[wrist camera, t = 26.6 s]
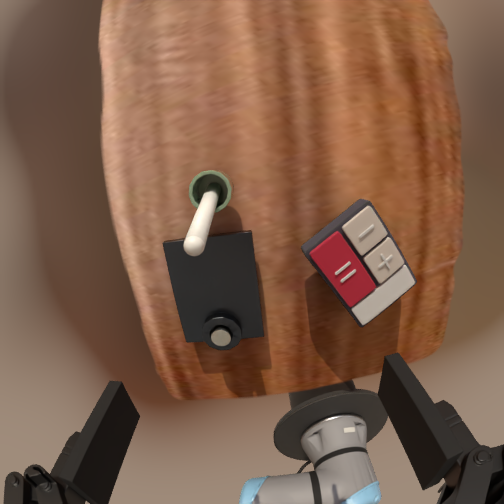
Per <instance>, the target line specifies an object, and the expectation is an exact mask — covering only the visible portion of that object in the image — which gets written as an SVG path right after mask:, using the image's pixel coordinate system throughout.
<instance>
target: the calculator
mask: <svg viewBox="0 0 504 504" xmlns="http://www.w3.org/2000/svg"><path fill="white" fill-rule="evenodd" d="M301 249H302V251H303V253H304V255H305V256H306V257H307V259H308V260H309V261H310V262H311V264H312V265H313V266H314V267H315V269H316V270H317V271H318V273H319V274H320V275H321V276H322V278H323V279H324V280H325V282H326V283H327V284H328V285H329V287H330V288H331V289H332V291H333V292H334V293H335V295H336V296H337V297H338V298H339V300H340V301H341V302H342V304H343V305H344V306H345V308H346V309H347V310H348V312H349V313H350V314H351V316H352V317H353V318H354V320H355V321H356V322H357V324H358V325H359V326H360V327H364V326H365V325H366V324H368V323H369V322H370V321H371V320H373V319H374V318H375V317H377V316H378V315H379V314H380V313H382V312H383V311H384V310H385V309H387V308H388V307H389V306H390V305H392V304H393V303H394V302H395V301H396V300H398V299H399V298H400V297H401V296H402V295H404V294H405V293H406V292H407V291H408V290H409V289H411V288H412V287H413V286H414V285H415V284H416V282H417V280H416V278H415V276H414V274H413V272H412V271H411V269H410V267H409V265H408V263H407V261H406V259H405V258H404V256H403V254H402V252H401V251H400V249H399V247H398V245H397V244H396V242H395V240H394V238H393V237H392V235H391V233H390V232H389V230H388V228H387V227H386V225H385V224H384V222H383V220H382V219H381V217H380V216H379V214H378V212H377V211H376V209H375V208H374V206H373V205H372V203H371V202H370V201H368V200H364V199H359V200H358V201H356V202H355V203H354V204H353V205H352V206H350V207H349V208H348V209H347V210H345V211H344V212H343V213H342V214H341V215H339V216H338V217H337V218H336V219H334V220H333V221H332V222H331V223H329V224H328V225H327V226H326V227H324V228H323V229H322V230H321V231H319V232H318V233H317V234H316V235H314V236H313V237H312V238H311V239H309V240H308V241H307V242H306V243H304V244H303V245H302V246H301Z"/></svg>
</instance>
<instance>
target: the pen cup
mask: <svg viewBox="0 0 504 504" xmlns="http://www.w3.org/2000/svg"><path fill="white" fill-rule="evenodd" d="M210 183H217V184H219V186H220V188H221V192H220V195H219V198H218V202H217V205H216V209H215V212H219V211H220V210H222V209H223V208H225V207H226V206H227V204H228V202H229V201H230V199H231V198H232V196H233V192H234V185H233V182H232V180H231V178H230V177H229V176H228V175H227V174H226V173H224V172H222V171H218V170H210V171H203V172H201V173H200V174H198V175H197V176H195V177H194V179H193V180H192V182H191V184H190V186H189V197H190V200H191V202H192V204H193V205H194V206H195V207H196V208H197V209H198V207H199V204H200V202H201V200H202V197H203V195H204V193H205V190H206V188H207V186H208V185H209V184H210ZM215 212H214V213H215Z"/></svg>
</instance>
